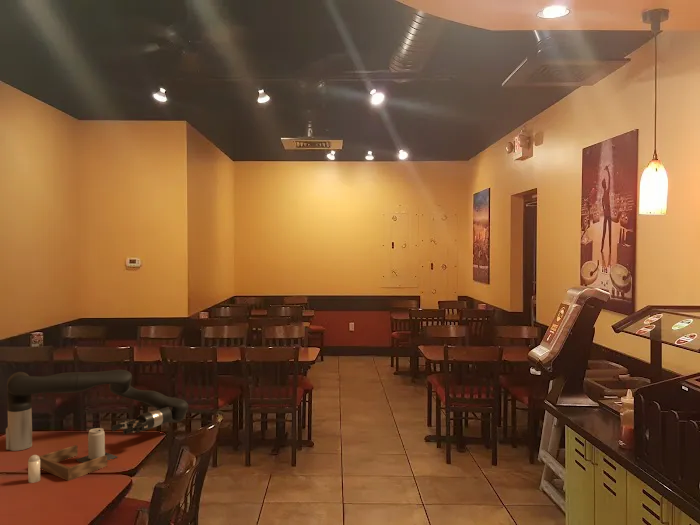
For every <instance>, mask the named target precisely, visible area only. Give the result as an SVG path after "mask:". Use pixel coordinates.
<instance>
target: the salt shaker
mask: <svg viewBox="0 0 700 525" xmlns="http://www.w3.org/2000/svg"><path fill="white" fill-rule="evenodd" d="M39 456H40V455H37V454H32V455H31V456H30V457H29V458H28V461H27V468H28V469H27V470H28V471H27V472H28V473H27V474H28V475H27V476H28V478H27V479H28V480H27V481H28V483H29V484H33V483H38V482H40V481H41V469H40V457H39Z"/></svg>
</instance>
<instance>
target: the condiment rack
mask: <svg viewBox="0 0 700 525" xmlns="http://www.w3.org/2000/svg"><path fill="white" fill-rule="evenodd" d="M78 452H79V450H78V445H77V444H76V445H75V444H74V445H72V446H68V447H65V448H61V449H58V450H55V451H52V452H49V453H46V454H43V455H38V456H39V457H40V468H41V469H43V470H42V471H44V470H45V471H44V472H46V471H47V472H46V473H49V474H51V475H54V476H56V477H57V478H58V477H59V478H60V479H63V480H66V481H72V480H75V479H77V478H80V477H82V476H86V475H88V473H89V474H91V473H93V472H92V471H94V472H96V471H95V470H97V471H99V470H98V469H100V468H102V469H104V468H103V467H105V466H107V467H108V461H107V456H106V455H105V456H102V457H99V458H96V459H93V460H90V461H87V462H84V463H78V464H75V465H73V466H66V465H64V464H62V463H61V462H64V461H66V460H65V459H67V460H69V459H68V458H70V459H72V458H71V457H73V458H75V457H74V456H76V457H78V456H77V455H79V454H78ZM63 460H64V461H63ZM60 461H61V462H60ZM57 462H58V463H57ZM105 468H106V467H105ZM41 469H40V470H41ZM100 470H101V469H100ZM90 472H91V473H90Z"/></svg>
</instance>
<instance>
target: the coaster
mask: <svg viewBox="0 0 700 525" xmlns="http://www.w3.org/2000/svg"><path fill="white" fill-rule="evenodd" d="M105 455H106V456H107V460H110V459H113V460H115V459H114V458H116V459H118V458H119V456H117V455H115V454H112V453H109V452H106V451H105ZM117 457H118V458H117ZM75 460H77V461H76V462H78V461H79V462H78V463H80V462H82V463H84V462H87V461H90V459H89V458H88V455H85V456H81V457H78V458H76V459H74V461H75ZM110 461H111V460H110Z"/></svg>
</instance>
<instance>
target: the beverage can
mask: <svg viewBox="0 0 700 525" xmlns="http://www.w3.org/2000/svg"><path fill="white" fill-rule="evenodd" d="M105 434H106V433H105V431H104V427H103V428H102V427H97V428H91V429H89V431H88V433H87V452H88V454H87V456H88V458H89V459H90V460H93V459H96V458H99V457H102V456H105V452H106V443H105V441H106V436H105Z"/></svg>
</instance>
